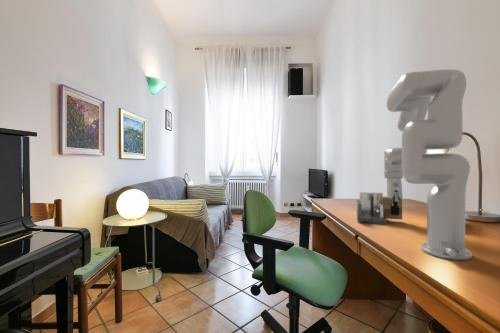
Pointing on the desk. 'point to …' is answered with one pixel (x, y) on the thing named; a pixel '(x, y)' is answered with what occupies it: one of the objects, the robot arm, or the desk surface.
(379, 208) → the plate
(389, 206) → the push block
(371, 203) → the dark flat plank
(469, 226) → the desk surface
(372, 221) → the stand
